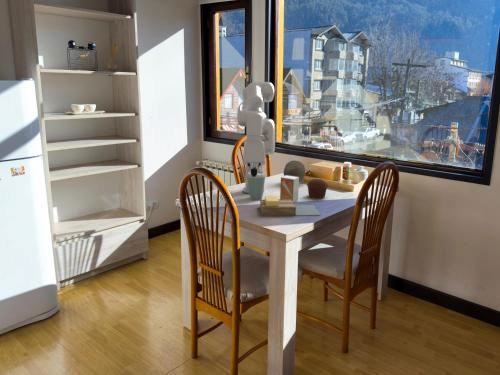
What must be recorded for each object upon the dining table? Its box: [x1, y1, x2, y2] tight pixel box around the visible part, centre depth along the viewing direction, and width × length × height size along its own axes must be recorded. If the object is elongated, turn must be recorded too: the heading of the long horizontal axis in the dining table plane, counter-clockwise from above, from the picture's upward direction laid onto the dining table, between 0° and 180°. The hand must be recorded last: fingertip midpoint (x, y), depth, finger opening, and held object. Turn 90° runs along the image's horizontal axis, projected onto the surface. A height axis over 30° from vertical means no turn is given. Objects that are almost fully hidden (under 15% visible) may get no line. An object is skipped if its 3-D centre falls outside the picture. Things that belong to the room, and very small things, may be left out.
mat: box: [294, 204, 321, 217], centre depth 208 cm, size 16×12×1 cm
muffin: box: [306, 178, 329, 200], centre depth 233 cm, size 12×11×10 cm
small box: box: [279, 175, 300, 203], centre depth 225 cm, size 8×6×13 cm
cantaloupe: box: [283, 160, 306, 183], centre depth 260 cm, size 14×14×15 cm
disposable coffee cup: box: [245, 170, 267, 201], centre depth 227 cm, size 11×11×15 cm
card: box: [264, 195, 279, 206], centre depth 206 cm, size 9×6×2 cm, turn 4°
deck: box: [259, 198, 296, 217], centre depth 207 cm, size 14×16×4 cm
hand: (253, 176), depth 202 cm, fingers closed
